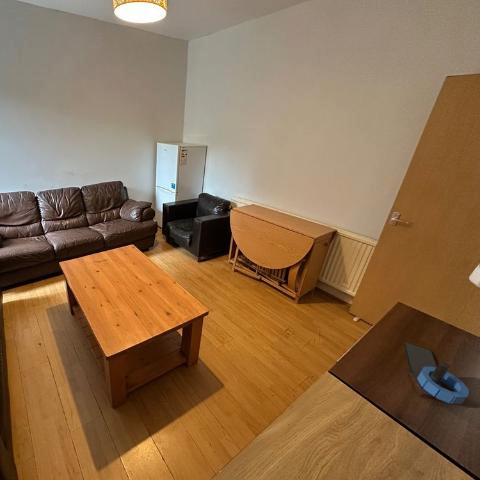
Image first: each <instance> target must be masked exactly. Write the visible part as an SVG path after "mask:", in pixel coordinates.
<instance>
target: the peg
mask: <svg viewBox="0 0 480 480" xmlns="http://www.w3.org/2000/svg"><path fill="white" fill-rule="evenodd" d="M450 369H451V365H450V364H449V363H448V362H445V361H442V360H441V361H440V362H439V363H438V364H437V367H436V369H435V370H434V372H433V373H432V375H431V376H430V378H431V379H432V381H433V382H435V383H436V384H437V385H439V386H440V387H442V388H444V389H446V388H445V386H444V384H443V383H441V382H440V381H441V380H442V378H443V377H444V375H445V374H446V373H447V372H448V371H449V370H450ZM418 376H419V374H416V373H411V372H410V371H409V372H408V374H407V377H408V378H409V380H410V382H411V383H412V386H413V387H414V389H415V390H416V392H417V394H418V396H419V397H421V398H425V399H429V400H433V401H436V402H441V403H444V404H448V405H452V404H451V403H447V402H445V401H442V400H440V399H438V398H436V396H433V395H431V394H430V393H429V392H428V391H426V390H425V389H424V387H422V386H421V384H420V383H419V381H418V378H417V377H418Z"/></svg>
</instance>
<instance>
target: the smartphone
mask: <svg viewBox="0 0 480 480" xmlns="http://www.w3.org/2000/svg"><path fill="white" fill-rule="evenodd" d="M403 346H404V350H405V351H404V352H405V356H406V360H407V365H408V368H409V372H411V373H416V374H420V373H421V371H422V369H423V368H424V367H437V366H438V364H437V362H436V360H435V356H434V354H433V351H432V350H430V349H428V348H425V347H423V346H419V345H416V344H413V343H410V342H404V343H403ZM440 382H441V383H442V384H443V383H444V382H442V381H440Z"/></svg>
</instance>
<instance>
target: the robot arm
mask: <svg viewBox="0 0 480 480" xmlns="http://www.w3.org/2000/svg"><path fill="white" fill-rule="evenodd" d="M468 279H469V281H470V283H472V284H473V285H474V286H476V287H477V288H479V289H480V263H478V265H477V266H476V267H475V269H474V270H473V271H472V272H471V274H470V275H469V277H468Z"/></svg>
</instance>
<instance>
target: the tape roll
mask: <svg viewBox="0 0 480 480" xmlns="http://www.w3.org/2000/svg"><path fill="white" fill-rule="evenodd" d="M435 369H436V367H424V368H423V369H422V371H421V373H420V374H419V376H418V377H417V378H418V381H419V383H420V384H421V386H422V387H424V389H425V390H426V391H428V392H429V393H430V394H431V395H433V396H436V398H438V399H440V400H442V401H445V402H447V403H446V404H448V403H451V404H450V405H461V404H463V403H464V402H465V401H466V399H467V398H468V397H469V393H470V389H469V388H468V387H467V386H466V384H465V383H464V382H463V381H462V380H461V379H459V378H458V377H457V376H455V375H453V374H452V373H450V372H448V371H447V373H446V374H445V375H444V377H443V378H442V380H441V381H442V382H443V383H444V384H445V385H447V386H448V387H449V388H451V390H452V391H451V390H450V389H447V388H445V389H444V388H442V387H440V386H439V385H437V384H436V383H435V382H433V381H432V379H431V378H430V376H431V375H432V373H433V372H434V370H435Z"/></svg>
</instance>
